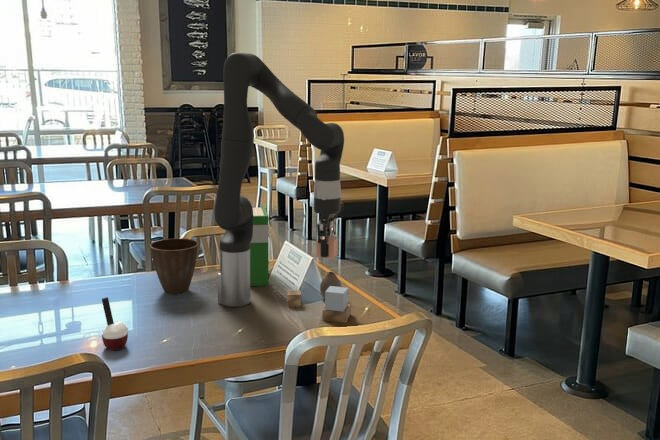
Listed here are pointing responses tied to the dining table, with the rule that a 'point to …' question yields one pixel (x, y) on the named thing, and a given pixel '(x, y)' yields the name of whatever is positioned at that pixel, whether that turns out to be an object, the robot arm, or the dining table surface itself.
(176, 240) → the plant pot
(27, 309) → the dining table surface
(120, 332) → the fishing bobber
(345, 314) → the walnut slab
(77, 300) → the dining table surface
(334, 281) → the vase
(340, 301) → the slate cube
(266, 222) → the hardback book
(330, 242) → the terracotta cube
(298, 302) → the maple block
